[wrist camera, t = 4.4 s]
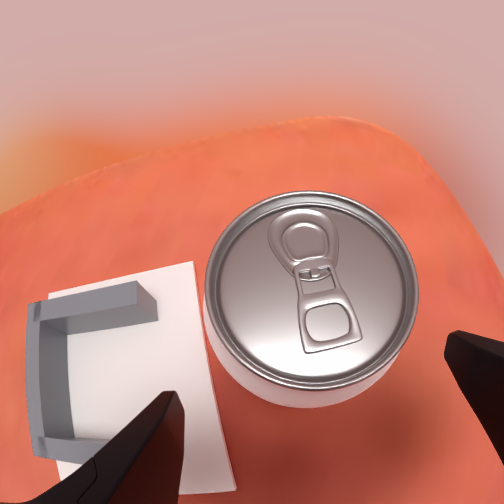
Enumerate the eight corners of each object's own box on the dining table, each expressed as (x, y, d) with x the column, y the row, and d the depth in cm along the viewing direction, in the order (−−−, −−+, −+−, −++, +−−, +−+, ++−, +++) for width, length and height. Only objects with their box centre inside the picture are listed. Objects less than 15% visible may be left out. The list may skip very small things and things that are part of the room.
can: (328, 299, 19) (380, 169, 9) (351, 391, 16) (462, 360, 5) (233, 318, 19) (182, 199, 9) (249, 414, 16) (203, 431, 5)
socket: (194, 264, 21) (179, 235, 18) (236, 488, 13) (226, 508, 10) (52, 296, 21) (24, 275, 17) (65, 480, 13) (32, 485, 9)
